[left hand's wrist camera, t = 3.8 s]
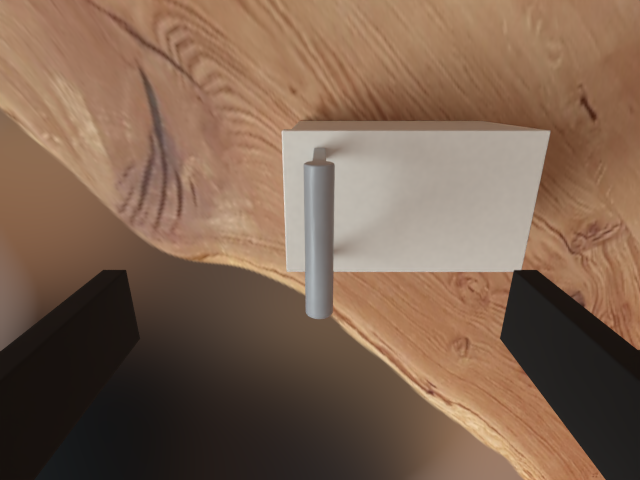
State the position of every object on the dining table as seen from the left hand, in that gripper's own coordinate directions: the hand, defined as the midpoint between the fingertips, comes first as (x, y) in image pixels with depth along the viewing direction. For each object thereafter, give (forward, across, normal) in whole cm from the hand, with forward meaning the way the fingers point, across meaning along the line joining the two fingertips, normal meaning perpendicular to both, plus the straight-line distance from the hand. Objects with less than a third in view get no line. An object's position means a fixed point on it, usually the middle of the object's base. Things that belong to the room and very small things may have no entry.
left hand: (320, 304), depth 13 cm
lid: (+13, +6, 0) cm, 15 cm away
